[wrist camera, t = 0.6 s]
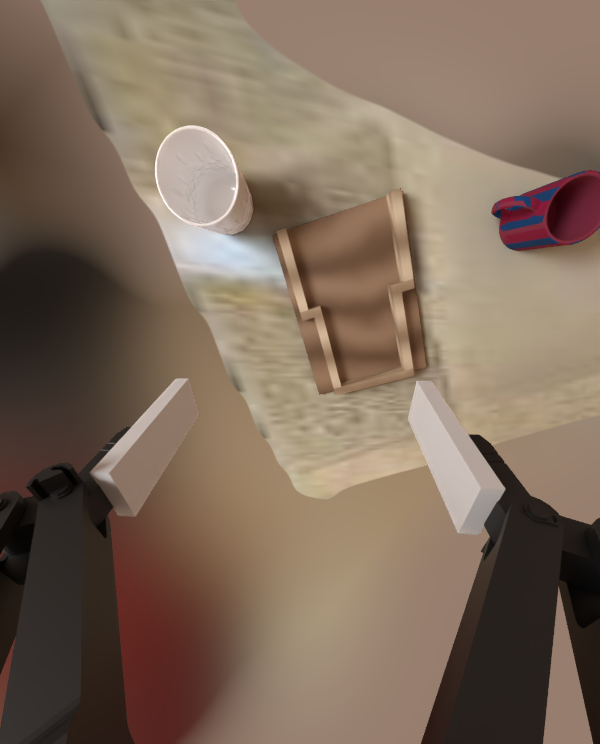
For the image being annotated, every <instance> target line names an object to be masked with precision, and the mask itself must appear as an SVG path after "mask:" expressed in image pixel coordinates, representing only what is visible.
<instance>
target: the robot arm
mask: <svg viewBox="0 0 600 744" xmlns="http://www.w3.org/2000/svg"><path fill="white" fill-rule="evenodd" d="M198 416H199V413H198V409H197V406H196V403H195V400H194V397H193V393H192V389H191V386H190V383H189V380H188V379H175V380H174V381H173V382H172V383H171V385H170V386H169V387H168V388H167V389H166V390H165V391H164V392H163V393H162V394H161V395H160V397H159V398H158V399H157V400H156V401H155V402H154V403H153V404H152V405H151V407H149V409H148V410H147V411H146V412H145V413H144V414H143V415H142V416H141V417H140V418H139V419H138V420H137V422H136V423H135V424H134V425H133V426H132V427H126V428H125V429H123V430H122V431H121V432H119V433H117V434H116V435H115V436H114V437H113V438H112V439H111V440H110V441H109V442H108V444H106V445H105V446H104V447H103V449H102V451H100V452H99V453H98V454H97V455H96V456H95V457H94V458H93V459H92V460H91V461H90V462H89V463H88V464H87V465H86V466H85V467H84V468H83V469H82V471H81V472H79V473H77V472H76V470H75V469H74V468H73V466H72V465H71V464H69V463H59V464H56V465H52V466H50V467H48V468H46V469H44V470H42V471H41V472H39V473H38V474H37V475H35V476H34V477H33V478H32V479H31V480H30V481H29V483H28V484H27V486H26V487H27V489H28V490H29V491H30V492H31V493H32V494H33V495H34V496H32V497H27V498H23V497H22V496H21V495H20V494H19V493H18V492H15V491H9V492H4V493H1V494H0V554H1V552H2V551H3V552H4V553H3V555H2V557H1V558H0V674H1V672H2V669H3V667H4V664H5V661H6V659H7V657H8V654H9V651H10V649H11V646H12V644H13V641H14V639H15V636H16V639H15V644H14V650H13V656H12V663H11V668H10V674H9V680H8V686H7V692H6V698H5V704H4V709H3V715H2V721H1V727H0V744H134V741H133V739H132V736H131V734H130V731H129V728H128V723H127V714H126V702H125V691H124V679H123V667H122V656H121V645H120V632H119V620H118V608H117V597H116V585H115V574H114V563H113V550H112V538H111V526H110V519H109V517H108V513H109V512H110V511H111V509H112V508H114V510H115V511H116V513H117V514H118V515H119V516H136V515H137V513H138V512H139V510H140V508H141V507H142V505H143V504H144V502H145V500H146V499H147V497H148V496H149V494H150V492H151V491H152V489H153V488H154V486H155V484H156V483H157V481H158V480H159V478H160V476H161V475H162V473H163V472H164V470H165V468H166V467H167V465H168V464H169V462H170V460H171V459H172V457H173V456H174V454H175V452H176V451H177V449H178V448H179V446H180V444H181V443H182V441H183V440H184V438H185V437H186V435H187V433H188V432H189V430H190V429H191V427H192V425H193V424H194V422H195V421H196V419H197V417H198ZM408 420H409V423H410V425H411V427H412V430H413V432H414V434H415V436H416V439H417V441H418V443H419V446H420V448H421V450H422V452H423V455H424V457H425V459H426V462H427V464H428V466H429V468H430V471H431V473H432V475H433V478H434V480H435V482H436V484H437V487H438V489H439V491H440V493H441V496H442V498H443V500H444V503H445V505H446V507H447V509H448V512H449V514H450V516H451V519H452V521H453V523H454V525H455V528H456V530H457V532H458V533H459V534H480V532H481V530H482V529H483V527H484V526H485V528H486V530H487V532H488V534H489V536H490V538H489V539H488V541H487V542H486V544H485V545H484V547H483V549H482V550H481V552H483V556H482V559H481V562H480V565H479V568H478V571H477V574H476V577H475V580H474V583H473V586H472V589H471V592H470V595H469V598H468V601H467V604H466V608H465V611H464V614H463V617H462V620H461V623H460V626H459V629H458V632H457V635H456V638H455V641H454V644H453V647H452V650H451V654H450V656H449V660H448V662H447V666H446V669H445V672H444V675H443V678H442V681H441V684H440V687H439V690H438V693H437V696H436V699H435V702H434V705H433V709H432V711H431V715H430V717H429V721H428V724H427V727H426V730H425V733H424V736H423V739H422V742H421V744H543V736H544V726H545V717H546V707H547V696H548V687H549V677H550V666H551V656H552V646H553V635H554V626H555V616H556V606H557V596H558V586H559V589H560V593H561V598H562V603H563V607H564V612H565V616H566V621H567V625H568V630H569V634H570V639H571V644H572V648H573V653H574V657H575V662H576V667H577V671H578V676H579V680H580V685H581V689H582V694H583V698H584V703H585V708H586V712H587V717H588V721H589V726H590V731H591V735H592V740H593V744H600V518H598V519H597V520H596V521H595V522H594V523H593V524H592V525H589V524H586V523H583V522H579V521H576V520H572V519H569V518H566V517H563V516H560V515H559V514H558V513H557V512H556V511H555V510H554V509H553V508H552V507H551V506H550V505H548V504H546V503H545V502H543V501H542V500H540V499H537V498H535V497H532V496H530V495H529V493H528V492H527V491H526V489H525V488H524V487H523V485H522V484H521V483H520V481H519V480H518V479H517V478H516V476H515V475H514V474H513V472H512V471H511V470H510V469H509V467H508V466H507V465H506V464H505V463H504V461H503V459H502V458H501V457H500V456H499V455H498V453H497V451H496V450H495V449H494V447H493V446H492V445H491V443H489V442H488V441H487V440H485V439H484V438H483V437H481V436H480V435H468V434H467V432H466V431H465V429H464V428H463V426H462V425H461V424H460V422H459V421H458V419H457V418H456V416H455V415H454V413H453V412H452V410H451V409H450V408H449V406H448V405H447V403H446V402H445V400H444V399H443V397H442V396H441V394H440V393H439V392H438V390H437V389H436V387H435V386H434V384H433V383H432V381H417V382H416V386H415V391H414V395H413V399H412V404H411V408H410V412H409V417H408Z"/></svg>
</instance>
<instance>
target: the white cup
mask: <svg viewBox="0 0 600 744" xmlns="http://www.w3.org/2000/svg"><path fill="white" fill-rule="evenodd" d="M155 176H156V182H157V186H158V190H159V192H160V195H161V197H162V199H163V201H164V202H165V204H166V205H167V207H168V208H169V209H170V210H171V212H172V213H173V214H174V215H176V216H177V217H178V218H179V219H181V220H182V221H184V222H186V223H188V224H191V225H194V226H197V227H200V228H203V229H206V230H209V231H213V232H217V233H223V234H230V235H233V234H236V233H238V232H241V231H243V230H244V229H245V227H246V226H247V225H248V224H249V223H250V221H251V217H252V213H253V210H254V209H253V201H252V195H251V193H250V192H249V189H248V186H247V183H246V181H245V179H244V177H243V174H242V172H241V170H240V169H239V167H238V165H237V163H236V161H235V159H234V157H233V155H232V153H231V151H230V149H229V148H228V146H227V145H226V144H225V143H224V141H223V140H222V139H221V138H220V137H219V136H217V135H216V134H215V133H213V132H212V131H210V130H208V129H206V128H203V127H200V126H183V127H180V128H178V129H176V130H174V131H173V132H171V133H170V134H169V135H168V136H167V137H166V138H165V139H164V141H163V142H162V144H161V146H160V148H159V150H158V153H157V157H156V163H155Z"/></svg>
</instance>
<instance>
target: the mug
mask: <svg viewBox="0 0 600 744" xmlns="http://www.w3.org/2000/svg"><path fill="white" fill-rule="evenodd" d="M504 208H506V209H504ZM491 213H492V214H493V215H494V216H495V217H497V218H500V219H501V221H500V227H499V232H500V237H501V240H502V242H503V243H504V244H505V245H506V246H507V247H508V248H510V249H513V250H519V251H520V250H529V249H537V248H545V247H553V246H562V245H570V244H575V243H578V242H580V241H583V240H585V239H586V238H588V237H589V236H591V235H592V234H593V233H594V232H596V230H597V229H598V228H599V227H600V172H598V171H592V170H589V171H582V172H579V173H576V174H574V175H571V176H568V177H566V178H563V179H560V180H558V181H555V182H553V183H550V184H547V185H545V186H542V187H540V188H537V189H534V190H532V191H529V192H526V193H524V194H522V195H520V196H513V197H508V198H505V199H502V200H500V201H498V202H496V203H495V204H494V206H493V208H492V212H491Z"/></svg>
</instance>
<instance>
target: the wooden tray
mask: <svg viewBox="0 0 600 744" xmlns="http://www.w3.org/2000/svg"><path fill="white" fill-rule="evenodd" d="M276 232H277V234H274V235H272V236H273V240H274V243H275V247H276V250H277V253H278V257H279V260H280V263H281V267H282V270H283V273H284V277H285V280H286V284H287V287H288V290H289V294H290V297H291V300H292V304H293V307H294V311H295V314H296V317H297V321H298V324H299V327H300V331H301V334H302V337H303V341H304V344H305V348H306V351H307V354H308V358H309V361H310V364H311V368H312V371H313V375H314V378H315V381H316V385H317V388H318V391H319V394H323V393H327V392H331V391H334V392H335V395H340V394H344V393H348V392H352V391H356V390H360V389H364V388H368V387H372V386H376V385H380V384H384V383H388V382H392V381H396V380H400V379H404V378H408V377H412V376H414V370H418V369H422V368H426V360H425V353H424V346H423V338H422V331H421V323H420V316H419V308H418V301H417V294H416V286H415V279H414V271H413V264H412V256H411V249H410V242H409V234H408V227H407V219H406V212H405V204H404V197H403V191H401V188H400V189H397V190H394V191H391V192H390V193H389V194H388V195H387V196H385V197H382V198H379V199H376V200H373V201H370V202H368V203H365V204H362V205H359V206H356V207H353V208H350V209H347V210H344V211H341V212H338V213H335V214H332V215H330V216H327V217H324V218H321V219H318V220H315V221H312V222H309V223H306V224H303V225H300V226H297V227H294V228H291V229H289V230H286V228H283V229H280V230H277V231H276Z"/></svg>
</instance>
